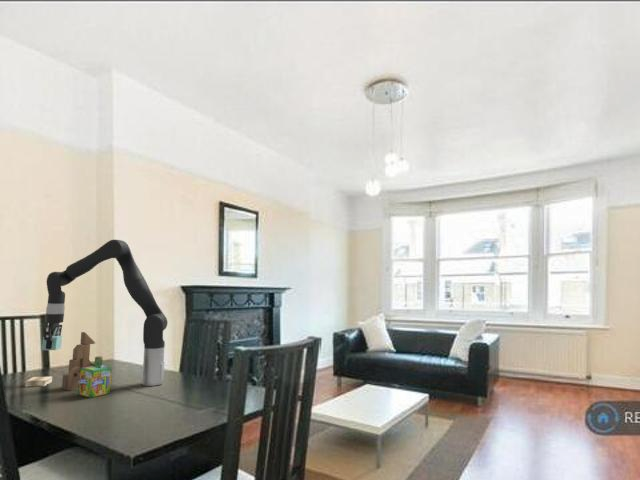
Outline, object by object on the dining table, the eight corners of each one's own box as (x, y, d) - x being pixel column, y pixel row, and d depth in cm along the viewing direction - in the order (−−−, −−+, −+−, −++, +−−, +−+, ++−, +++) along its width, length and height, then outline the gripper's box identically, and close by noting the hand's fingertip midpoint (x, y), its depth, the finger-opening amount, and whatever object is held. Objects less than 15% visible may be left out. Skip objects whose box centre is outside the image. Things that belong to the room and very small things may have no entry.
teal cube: (60, 348, 202) (62, 335, 202) (55, 350, 196) (56, 337, 196) (47, 348, 200) (48, 335, 201) (41, 350, 195) (43, 337, 195)
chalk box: (77, 395, 177) (80, 360, 178) (98, 390, 185) (100, 357, 186) (90, 398, 172) (93, 362, 174) (110, 393, 180) (113, 359, 182)
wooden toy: (70, 391, 183) (75, 334, 185) (61, 389, 186) (65, 333, 188) (102, 383, 197) (105, 330, 199) (93, 382, 200) (96, 330, 202)
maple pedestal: (51, 382, 199) (52, 376, 199) (44, 386, 191) (45, 380, 191) (33, 383, 197) (33, 377, 197) (25, 387, 189) (25, 380, 189)
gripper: (57, 314, 194) (53, 350, 192) (69, 311, 208) (66, 345, 206) (39, 313, 192) (35, 350, 190) (53, 311, 206) (49, 345, 204)
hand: (51, 347), depth 198 cm, fingers closed on teal cube, 6 cm apart
